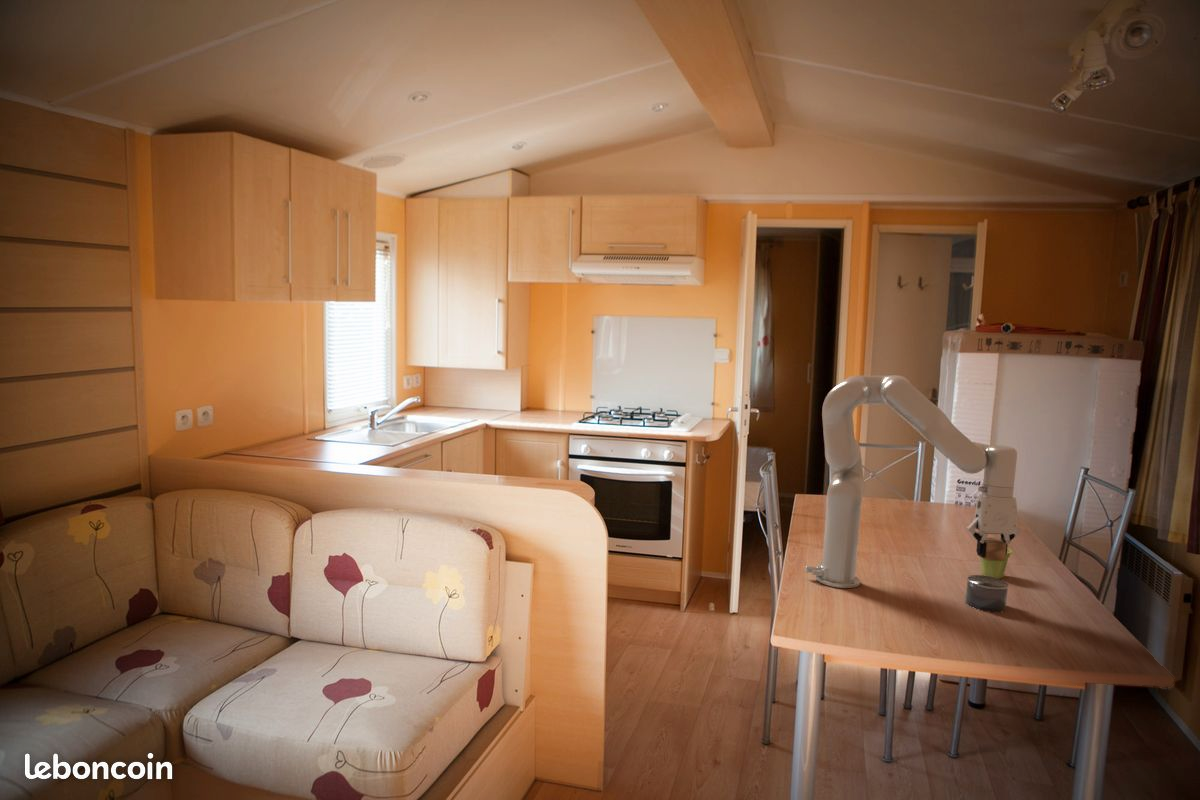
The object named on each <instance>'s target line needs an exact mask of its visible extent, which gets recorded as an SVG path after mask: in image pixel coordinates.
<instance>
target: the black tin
mask: <svg viewBox="0 0 1200 800" xmlns="http://www.w3.org/2000/svg"><path fill="white" fill-rule="evenodd" d="M966 579H967V584H966V592H965V593H966V594H965V601H964V603H965V602H966V603H965V604H966V605H967V604H968V605H969V606H968V605H967V606H968V607H970V606H971V607H970V608H972V607H974V608H976V609H975V610H977V609H980V610H979V611H981V610H983V611H982V612H986V611H990V612H989V613H995V612H997V613H1002V612H1001V611H1003V612H1005V611H1006V609H1007V608H1006V605H1007V598H1008V591H1009V590H1008V589H1009V583H1008V582H1007V581H1005V580H1003V579H1002V578H995V577H990V576H984V575H982V574H981V575H980V574H972V575H968V576H967V578H966ZM974 608H973V609H974ZM1004 610H1005V611H1004Z"/></svg>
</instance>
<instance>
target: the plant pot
mask: <svg viewBox="0 0 1200 800" xmlns="http://www.w3.org/2000/svg"><path fill="white" fill-rule="evenodd" d="M1012 553H1013V551H1012V549H1011V548H1008V547H1007V554H1006V558H1005V561H987V560H985V559H983V558H982V557H980V568H981V571H980V572H981V575H982V574H983V575H985V576H990V577H995V578H998V579H1002V577H1003V578H1004V576H1005V572H1006V568H1007V563H1008V561H1009V558H1010V555H1011V554H1012Z"/></svg>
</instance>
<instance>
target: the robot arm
mask: <svg viewBox="0 0 1200 800" xmlns="http://www.w3.org/2000/svg"><path fill="white" fill-rule="evenodd" d="M862 405H886V406H888V407H889V408H890V409H892V411H893V412H895V413H896V414H897V415H899V417H901V418H902V419H903V420H904V421H905V422H906V423H907V424H909V425H910V426H911V428H913V429H914V430H915V431H916V432H918V433H919V434H920V436H921V437H923V438H924V439H925V440H926V441H928V442H929V443H930V444H931V445H932V446H933V447H934V448H936V450H938V452H940V453H941V454H942V455H943V456H944V457H945V458H946V459H948V460H949V461H950V462H951V463H952V464H953V465H954V466H955V467H956V468H958V469H959V470H960V471H962V472H964V473H965V474H972V475H973V474H978V473H980V472H981V471H984V473H983V482H982V486H978V487H977V490H978V492H981V494H980V493H979V496H978V499H977V503H976V506H975V510H974V515H973V520H972V522H971V523H970V524H969V525H968V526H967V527H966V530H967V531H968V532H969V534H971V535H972V536H973V538H974V539H975V541H977V542H976V554H977V555H976V556H978V555H979V556H978V557H980V556H981V557H982V558H984V557H985V553H986V543H985V540H986V538H988V535H990V534H991V535H999V537H1000V540H1002V541H1003V542H1005V543H1007V545H1006V554H1007V548H1008V546H1009V544H1010V543H1011V542H1012V541H1013V539H1014V538H1015V537H1016V536H1018V535H1020V534H1021V532H1022V529H1020V527H1019V525H1018V504H1017V498H1016V497H1014V489H1015V480H1016V469H1017V461H1018V460H1017V459H1018V451H1017V449H1015V447H1012V446H1008V445H998V444H997V445H996V444H995V445H994V444H993V445H991V444H985V443H980V442H976V441H972V440H970V439H969V438H968V437H967V436H966V435H965V434H964V433H962V431H960V430H959V429H958V428H957V427H956V426H955V425H954V423H952V422H951V420H950V419H949V418H948V416H947V414H945V413H944V412H943V410H942V409H941V408H940V407H938V406H937V405H936V404H935V403H933V401H931V400H930V399H929V398H927V397H926V395H924V394H923V393H921V391H919V390H918V389H917V388H916V387H915V386H914V385H913V384H911V381H909V380H908V378H906V377H905V376H903V375H897V374H896V375H895V374H894V375H852V376H851V375H850V376H849V377H847V378H846V379H844V380H843V381H841V382H840V383H838V384H836V385H835V386H834V387H833V388H832V389H831V390H830V391H829V392H828V393H827V395H826V396H825V398H824V401H823V404H822V407H821V408H822V412H821V417H822V418H821V419H822V428H823V430H822V431H823V432H822V433H823V443H824V457H825V460H826V462H827V465H828V466H829V474H830V475H829V476H830V483H829V484H828V487H827V490H826V491H827V493H826V507H825V509H826V510H825V520H824V521H825V522H824V538H823V548H822V549H823V550H822V562H818V564H817V565H815V566H812V565H805V567H804V571H805V573H809V574H811V575H813V576H814V575H815V580H816V581H817V582H819V583H821V584H823V585H825V586H829V587H831V588H832V587H833V588H839V589H853V588H854V589H855V588H857V587H859V586H861V585H860V584H861V579H860V578H859V577H858V576H856V569H857V560H858V559H857V558H858V545H859V536H860V535H859V534H860V526H861V525H860V523H861V513H862V511H861V510H862V500H863V494H864V491H865V478H864V470H863V461H862V451H861V447H860V444H859V442H858V441H857V440H856V438H855V425H854V420H853V416H854V415H853V414H854V412H855V410H856V409H857V408H859V407H860V406H862ZM976 530H977V531H976ZM1006 554H1005V558H1006ZM981 557H980V558H981Z"/></svg>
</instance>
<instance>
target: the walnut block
mask: <svg viewBox="0 0 1200 800" xmlns="http://www.w3.org/2000/svg"><path fill="white" fill-rule="evenodd" d="M985 543H986V553H985V557H984V558H983V559H985V560H987V561H1005V554H1006V545H1007V543H1005V542H1003V541H1002V540H1001V539H999V538H998V537H986V540H985ZM977 556H978V557H980V558H981V556H979V555H977Z"/></svg>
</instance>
